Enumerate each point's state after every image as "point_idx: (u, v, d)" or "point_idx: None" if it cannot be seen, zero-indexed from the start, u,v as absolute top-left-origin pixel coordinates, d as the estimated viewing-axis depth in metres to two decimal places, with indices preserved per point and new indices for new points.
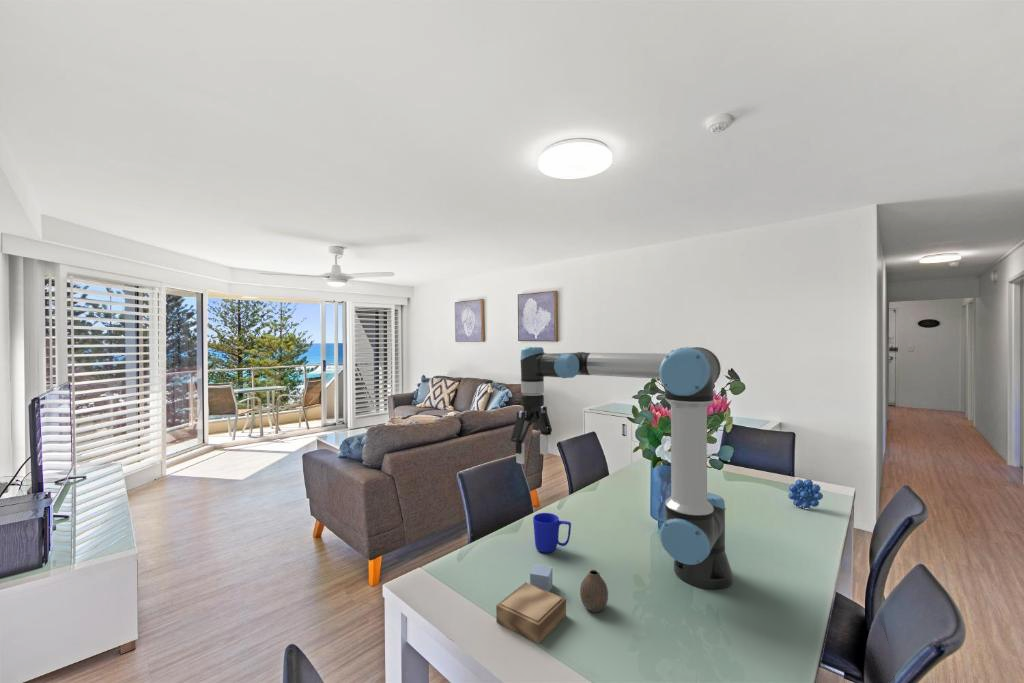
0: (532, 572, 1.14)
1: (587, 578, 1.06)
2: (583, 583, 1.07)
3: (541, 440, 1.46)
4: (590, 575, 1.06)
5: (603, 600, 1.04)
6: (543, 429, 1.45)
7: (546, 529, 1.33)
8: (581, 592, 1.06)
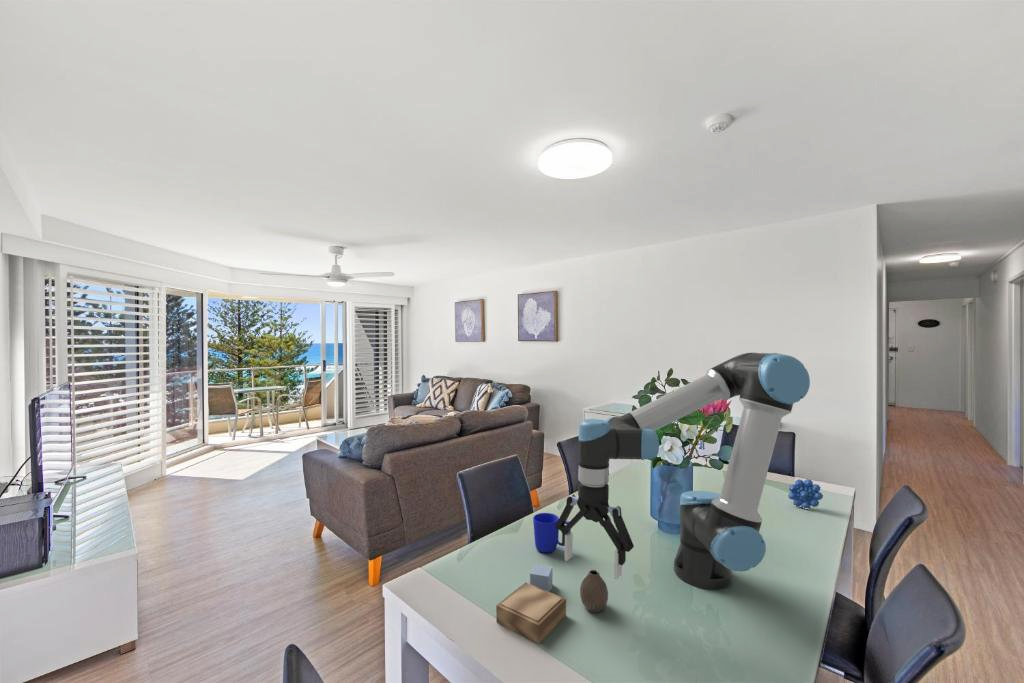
0: (532, 572, 1.14)
1: (587, 578, 1.06)
2: (583, 583, 1.07)
3: None
4: (590, 575, 1.06)
5: (603, 600, 1.04)
6: None
7: (546, 529, 1.33)
8: (581, 592, 1.06)
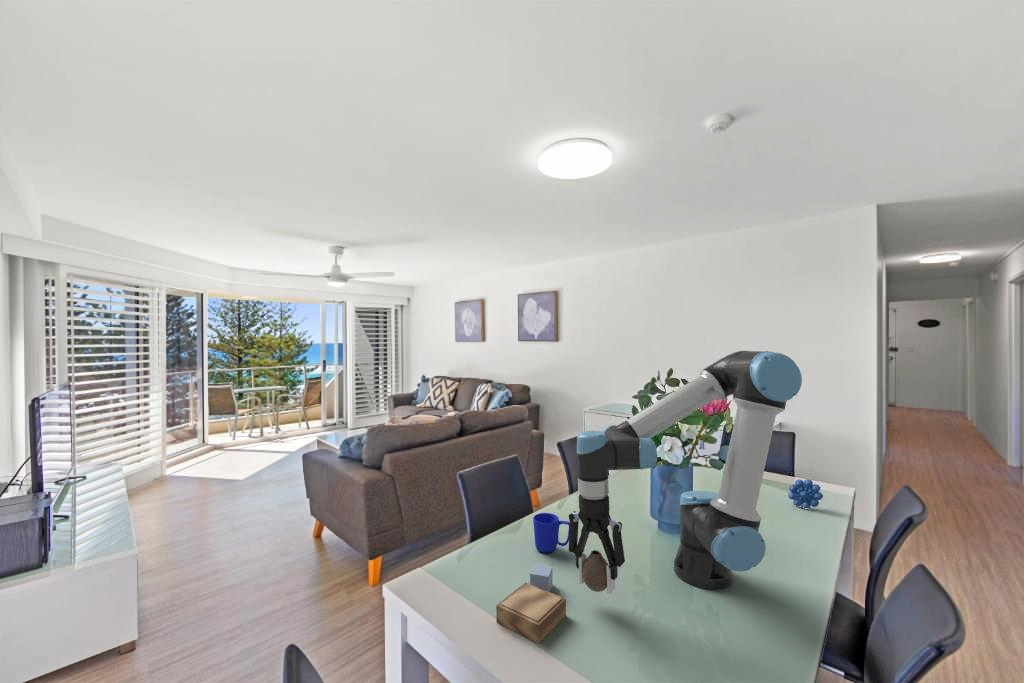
0: (532, 572, 1.14)
1: (589, 558, 1.07)
2: (585, 563, 1.07)
3: None
4: (592, 555, 1.06)
5: (606, 580, 1.04)
6: None
7: (546, 529, 1.33)
8: (583, 572, 1.06)
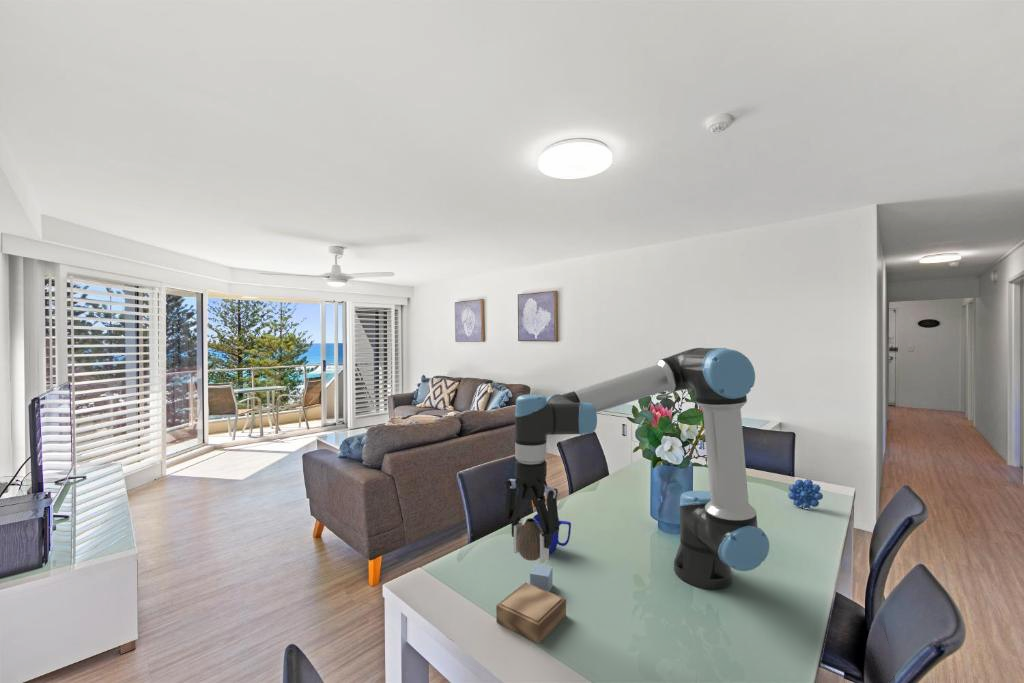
0: (532, 572, 1.14)
1: (524, 526, 1.02)
2: (519, 531, 1.02)
3: None
4: (526, 523, 1.02)
5: (539, 548, 1.00)
6: None
7: None
8: (517, 540, 1.02)
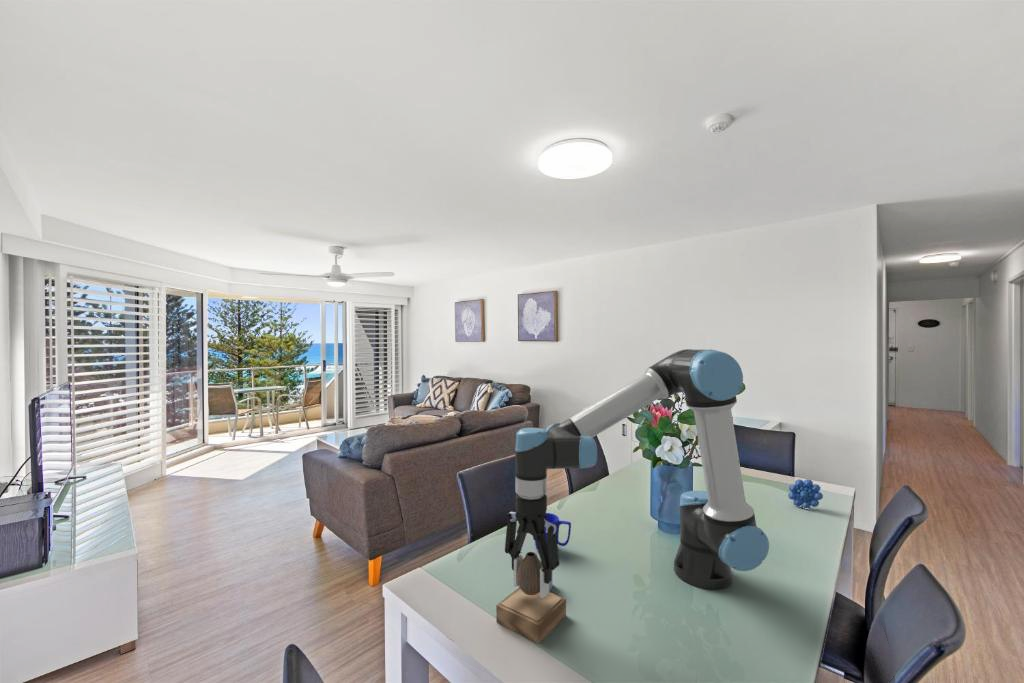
0: None
1: (524, 560, 1.02)
2: (520, 565, 1.02)
3: None
4: (527, 557, 1.02)
5: (539, 583, 1.00)
6: None
7: None
8: (517, 574, 1.02)
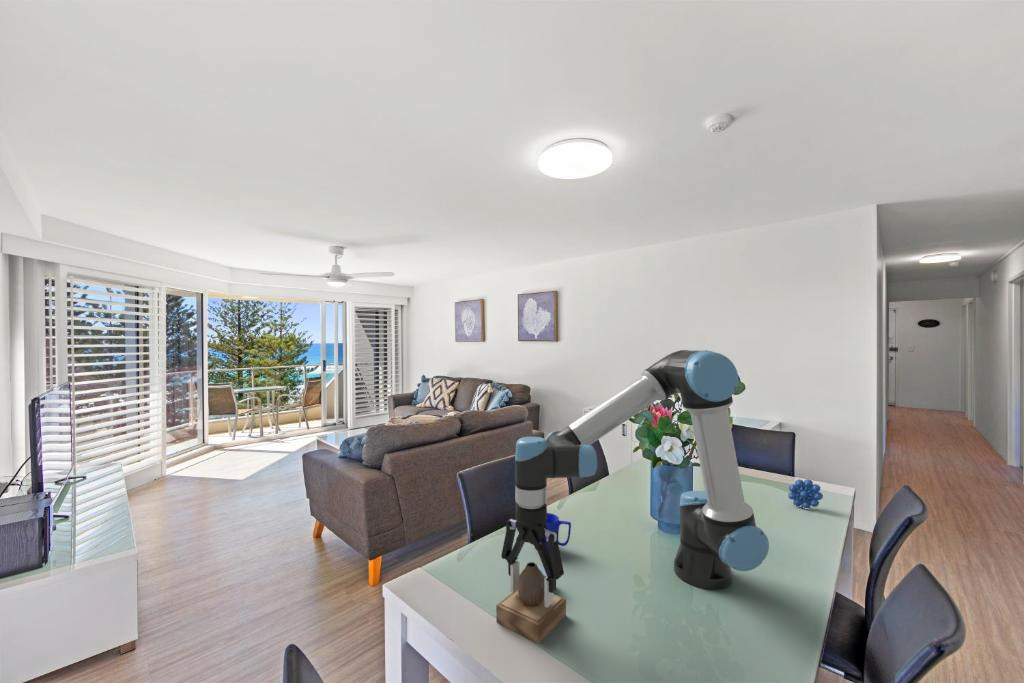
0: None
1: (524, 570, 1.02)
2: (520, 576, 1.02)
3: None
4: (527, 567, 1.02)
5: (540, 593, 1.00)
6: None
7: None
8: (518, 585, 1.02)
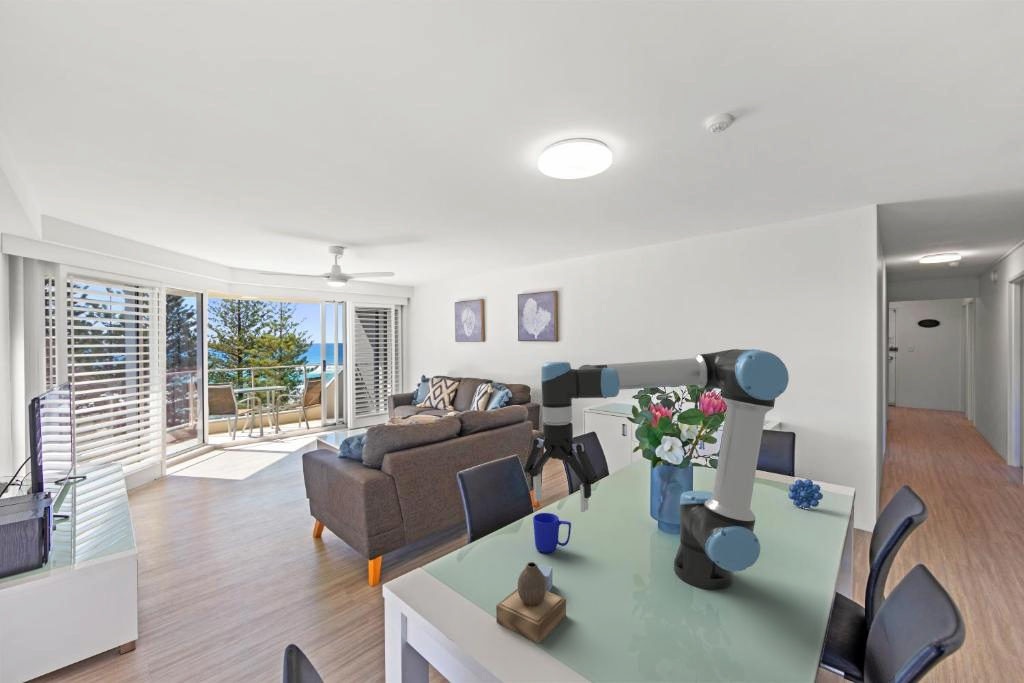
0: None
1: (524, 571, 1.02)
2: (520, 576, 1.02)
3: None
4: (527, 567, 1.02)
5: (540, 593, 1.00)
6: None
7: (546, 529, 1.33)
8: (518, 585, 1.02)
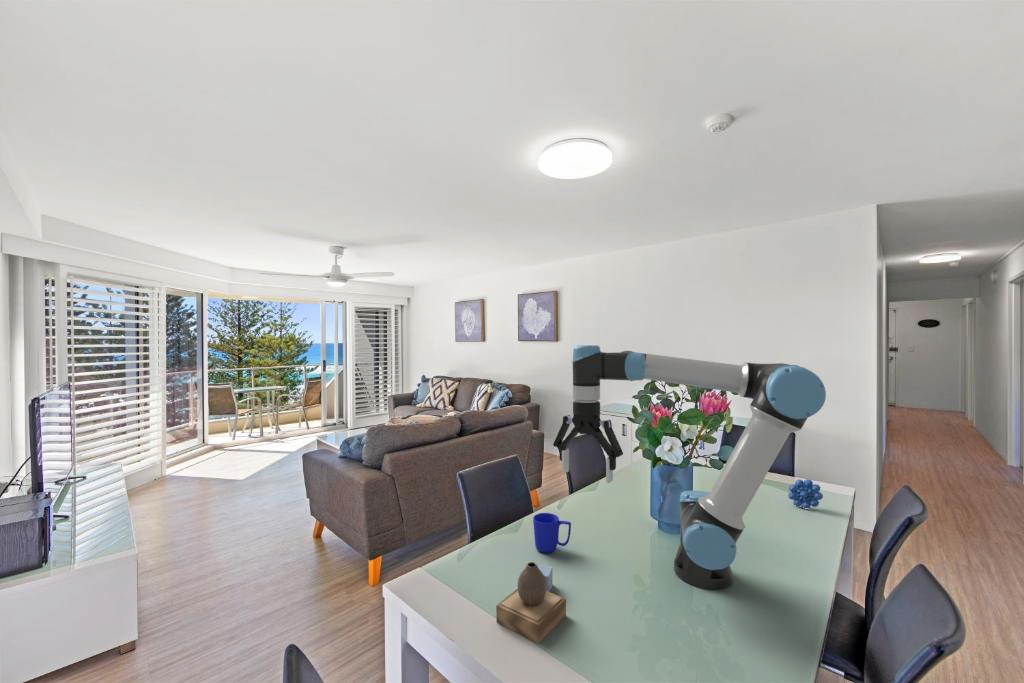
0: None
1: (524, 571, 1.02)
2: (520, 576, 1.02)
3: None
4: (527, 567, 1.02)
5: (540, 593, 1.00)
6: None
7: (546, 529, 1.33)
8: (518, 585, 1.02)
